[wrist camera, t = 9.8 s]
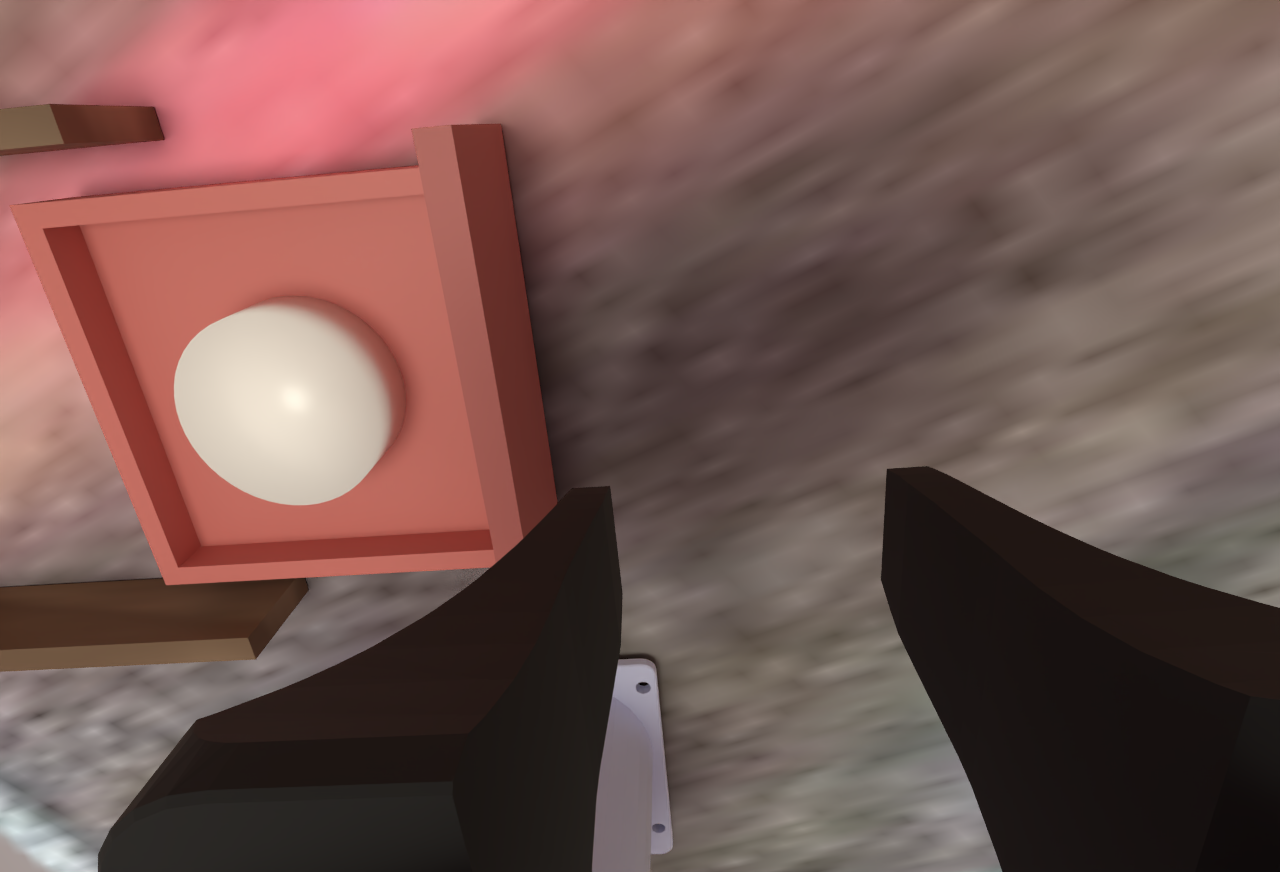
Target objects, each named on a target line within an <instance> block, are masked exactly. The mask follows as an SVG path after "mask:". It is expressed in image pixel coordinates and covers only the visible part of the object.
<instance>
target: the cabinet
mask: <svg viewBox="0 0 1280 872" xmlns="http://www.w3.org/2000/svg"><path fill="white" fill-rule="evenodd" d="M157 140H164V138H163V135H162V131H161V128H160V125H159V122H158V119H157V116H156V113H155V110H154V107H138V106H100V105H63V104H46V105H36V106H26V107H17V108H7V109H0V156H3V155H13V154H24V153H34V152H44V151H54V150H65V149H75V148H85V147H95V146H106V145H116V144H126V143H137V142H147V141H157ZM307 591H308V587H307V584H306V581H305V578H288V579H270V580H252V581H234V582H216V583H198V584H180V585H166V584H165V582H164V579H163V578H160V579H142V580H125V581H107V582H89V583H71V584H53V585H36V586H18V587H0V672H2V671H23V670H43V669H64V668H85V667H106V666H127V665H147V664H168V663H189V662H210V661H230V660H251V659H256V658H257V657H258V656H259V654H260V653H261V652H262V650H263V649H264V648H265V647H266V645H267V644H268V643H269V641H270V640H271V639H272V637H273V636H274V635H275V633H276V632H277V631H278V629H279V628H280V627H281V626H282V624H283V623H284V622H285V620H286V619H287V618H288V616H289V615H290V614H291V612H292V611H293V610H294V609H295V607H296V606H297V605H298V603H299V602H300V601H301V599H302V598H303V597H304V595H305V594H306V593H307Z"/></svg>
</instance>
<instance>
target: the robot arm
mask: <svg viewBox="0 0 1280 872" xmlns="http://www.w3.org/2000/svg"><path fill="white" fill-rule="evenodd" d="M881 581H882V584H883V588H884V591H885V594H886V597H887V601H888V604H889V607H890V610H891V613H892V616H893V619H894V622H895V625H896V628H897V631H898V634H899V636H900V638H901V640H902V642H903V644H904V646H905V649H906V651H907V653H908V655H909V657H910V659H911V661H912V663H913V665H914V667H915V669H916V671H917V673H918V675H919V677H920V679H921V681H922V684H923V686H924V688H925V690H926V692H927V694H928V696H929V698H930V700H931V702H932V704H933V706H934V708H935V710H936V712H937V714H938V716H939V718H940V720H941V722H942V724H943V726H944V728H945V730H946V732H947V734H948V736H949V738H950V740H951V742H952V744H953V746H954V748H955V750H956V752H957V754H958V756H959V759H960V761H961V763H962V766H963V768H964V770H965V772H966V775H967V777H968V779H969V781H970V784H971V786H972V789H973V791H974V794H975V797H976V800H977V802H978V805H979V808H980V811H981V813H982V816H983V819H984V821H985V824H986V827H987V830H988V832H989V835H990V838H991V840H992V843H993V846H994V849H995V851H996V854H997V857H998V860H999V863H1000V866H1001V869H1002V872H1280V608H1278V607H1274V606H1270V605H1266V604H1263V603H1259V602H1256V601H1252V600H1249V599H1245V598H1242V597H1238V596H1235V595H1231V594H1228V593H1224V592H1221V591H1218V590H1214V589H1211V588H1207V587H1204V586H1201V585H1198V584H1195V583H1191V582H1188V581H1185V580H1182V579H1179V578H1176V577H1173V576H1170V575H1167V574H1165V573H1162V572H1159V571H1156V570H1154V569H1151V568H1148V567H1145V566H1143V565H1140V564H1137V563H1134V562H1132V561H1129V560H1126V559H1123V558H1121V557H1118V556H1116V555H1113V554H1111V553H1108V552H1106V551H1103V550H1101V549H1098V548H1096V547H1094V546H1092V545H1089V544H1087V543H1085V542H1083V541H1080V540H1078V539H1076V538H1074V537H1071V536H1069V535H1067V534H1065V533H1062V532H1060V531H1058V530H1056V529H1053V528H1051V527H1049V526H1047V525H1045V524H1043V523H1041V522H1039V521H1037V520H1035V519H1033V518H1031V517H1029V516H1027V515H1025V514H1023V513H1021V512H1019V511H1017V510H1015V509H1013V508H1011V507H1009V506H1007V505H1005V504H1003V503H1001V502H999V501H997V500H995V499H993V498H991V497H989V496H988V495H986V494H984V493H982V492H980V491H978V490H976V489H974V488H972V487H970V486H968V485H966V484H965V483H963V482H961V481H959V480H957V479H955V478H953V477H951V476H949V475H947V474H944V473H942V472H940V471H938V470H935V469H933V468H930V467H927V466H926V467H910V468H893V469H887V477H886V496H885V515H884V534H883V552H882V571H881ZM621 623H622V585H621V577H620V568H619V559H618V551H617V542H616V533H615V525H614V516H613V508H612V499H611V490H610V486H604V487H588V488H572V489H571V490H570V491H569V492H568V493H567V494H566V495H565V496H564V497H563V498H562V499H561V500H560V501H559V502H558V503H557V505H556V506H555V507H554V508H553V509H552V510H551V511H550V512H549V513H548V514H547V515H546V516H545V517H544V518H543V519H542V520H541V521H540V522H539V523H538V524H537V525H536V526H535V527H534V528H533V529H532V530H531V531H530V532H529V533H528V534H527V535H526V536H525V537H524V538H523V539H522V540H521V541H520V542H519V543H518V544H517V545H516V546H515V547H514V548H512V549H511V550H510V551H509V552H508V553H507V554H506V555H504V556H503V557H502V558H501V559H500V560H499V561H498V562H496V563H495V564H494V565H493V566H492V567H491V568H490V569H488V570H487V571H486V572H485V573H484V574H483V575H482V576H480V577H479V578H478V579H477V580H475V581H474V582H473V583H472V584H470V585H469V586H468V587H466V588H465V589H464V590H462V591H461V592H460V593H458V594H457V595H455V596H454V597H453V598H451V599H450V600H448V601H447V602H445V603H444V604H442V605H441V606H440V607H438V608H437V609H435V610H434V611H432V612H431V613H429V614H428V615H426V616H425V617H423V618H421V619H419V620H418V621H416V622H414V623H413V624H411V625H409V626H407V627H406V628H404V629H402V630H401V631H399V632H397V633H395V634H394V635H392V636H390V637H388V638H387V639H385V640H383V641H382V642H380V643H378V644H376V645H375V646H373V647H371V648H369V649H367V650H365V651H363V652H361V653H359V654H357V655H355V656H353V657H351V658H349V659H347V660H345V661H343V662H341V663H339V664H337V665H335V666H332V667H330V668H328V669H326V670H324V671H321V672H319V673H317V674H315V675H313V676H310V677H308V678H306V679H304V680H301V681H299V682H297V683H294V684H292V685H289V686H287V687H285V688H282V689H280V690H277V691H274V692H272V693H269V694H266V695H264V696H261V697H258V698H256V699H253V700H250V701H248V702H245V703H242V704H240V705H237V706H234V707H232V708H229V709H226V710H224V711H221V712H218V713H216V714H213V715H210V716H207V717H204V718H201V719H198V720H196V721H195V723H194V724H193V725H192V726H191V727H190V729H189V730H188V731H187V732H186V734H185V735H184V736H183V737H182V739H181V740H180V741H179V743H178V744H177V745H176V746H175V748H174V749H173V750H172V751H171V753H170V754H169V755H168V757H167V758H166V759H165V760H164V762H163V763H162V764H161V765H160V767H159V768H158V769H157V771H156V772H155V773H154V774H153V776H152V777H151V778H150V779H149V781H148V782H147V783H146V785H145V786H144V787H143V788H142V790H141V791H140V792H139V793H138V795H137V796H136V797H135V799H134V800H133V801H132V802H131V804H130V805H129V806H128V807H127V809H126V810H125V811H124V813H123V814H122V815H121V816H120V818H119V819H118V820H117V822H116V823H115V824H114V825H113V827H112V828H111V829H110V831H109V833H108V835H107V837H106V839H105V841H104V843H103V845H102V847H101V849H100V852H99V854H98V872H650V870H651V854H664V853H667V852H669V851H670V850H671V849H672V848H673V832H672V822H671V812H670V802H669V792H668V781H667V771H666V761H665V751H664V741H663V731H662V721H661V710H660V700H659V690H658V680H657V670H656V666H655V664H654V663H653V662H652V661H650V660H648V659H642V658H640V659H619V653H620V646H621ZM640 682H646V683H648V685H645V686H642V685H639V684H638V683H640ZM657 823H659V824H657Z"/></svg>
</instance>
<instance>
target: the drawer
mask: <svg viewBox="0 0 1280 872" xmlns="http://www.w3.org/2000/svg"><path fill="white" fill-rule="evenodd" d="M411 130H412V135H413V140H414V145H415V150H416V155H417V160H418V165H417V166H406V167H395V168H384V169H373V170H363V171H352V172H341V173H330V174H320V175H309V176H298V177H287V178H276V179H266V180H255V181H244V182H233V183H223V184H212V185H201V186H190V187H179V188H169V189H158V190H147V191H136V192H126V193H115V194H104V195H93V196H82V197H72V198H64V199H56V200H48V201H40V202H33V203H25V204H17V205H10V208H11V211H12V213H13V215H14V218H15V220H16V223H17V225H18V228H19V230H20V232H21V235H22V237H23V240H24V242H25V244H26V247H27V249H28V252H29V254H30V257H31V259H32V261H33V264H34V266H35V269H36V271H37V274H38V276H39V278H40V281H41V283H42V286H43V288H44V291H45V293H46V295H47V298H48V300H49V303H50V305H51V308H52V310H53V312H54V315H55V317H56V320H57V322H58V325H59V327H60V329H61V332H62V334H63V337H64V339H65V342H66V344H67V346H68V349H69V351H70V354H71V356H72V358H73V361H74V363H75V366H76V368H77V371H78V373H79V375H80V378H81V380H82V383H83V385H84V388H85V390H86V392H87V395H88V397H89V400H90V402H91V405H92V407H93V409H94V412H95V414H96V417H97V419H98V422H99V424H100V426H101V429H102V431H103V434H104V436H105V439H106V441H107V443H108V446H109V448H110V451H111V453H112V455H113V458H114V460H115V463H116V465H117V468H118V470H119V472H120V475H121V477H122V480H123V482H124V485H125V487H126V489H127V492H128V494H129V497H130V499H131V502H132V504H133V506H134V509H135V511H136V514H137V516H138V519H139V521H140V523H141V526H142V528H143V531H144V533H145V536H146V538H147V540H148V543H149V545H150V548H151V550H152V553H153V555H154V557H155V560H156V562H157V565H158V567H159V569H160V572H161V574H162V577H163V579H164V582H165V584H166V585H180V584H198V583H216V582H234V581H252V580H270V579H288V578H306V577H324V576H342V575H360V574H378V573H396V572H414V571H432V570H450V569H468V568H486V567H492V566H493V565H494V564H495V563H496V562H498V561H499V560H500V559H501V558H502V557H503V556H504V555H506V554H507V553H508V552H509V551H510V550H511V549H512V548H514V547H515V546H516V545H517V544H518V543H519V542H520V541H521V540H522V539H523V538H524V537H525V536H526V535H527V534H528V533H529V532H530V531H531V530H532V529H533V528H534V527H535V526H536V525H537V524H538V523H539V522H540V521H541V520H542V519H543V518H544V517H545V516H546V515H547V514H548V513H549V512H550V511H551V510H552V509H553V508H554V507H555V506H556V505H557V503H558V502H557V496H556V489H555V482H554V476H553V469H552V462H551V456H550V449H549V442H548V436H547V429H546V422H545V416H544V409H543V402H542V395H541V389H540V382H539V375H538V369H537V362H536V355H535V349H534V342H533V335H532V329H531V322H530V315H529V309H528V302H527V295H526V289H525V282H524V275H523V268H522V262H521V255H520V248H519V242H518V235H517V228H516V222H515V215H514V208H513V202H512V195H511V188H510V182H509V175H508V168H507V161H506V155H505V148H504V141H503V135H502V128H501V124H472V125H445V126H435V127H424V128H414V129H411ZM281 296H307V297H313V298H317V299H322V300H325V301H328V302H331V303H333V304H336V305H338V306H340V307H342V308H344V309H346V310H348V311H350V312H351V313H353V314H354V315H356V316H357V317H359V318H360V319H362V320H363V321H364V322H365V323H367V324H368V325H369V326H370V327H371V328H372V329H373V330H374V331H375V332H376V333H377V334H378V335H379V336H380V337H381V338H382V340H383V341H384V342H385V344H386V345H387V346H388V348H389V349H390V351H391V353H392V354H393V356H394V358H395V360H396V362H397V364H398V366H399V369H400V371H401V375H402V378H403V381H404V387H405V393H406V409H405V417H404V420H403V424H402V427H401V429H400V432H399V434H398V436H397V438H396V439H395V441H394V442H393V444H392V445H391V447H390V448H389V449H388V450H387V451H386V452H385V454H384V455H383V456H382V457H381V458H380V460H379V461H378V462H377V463H376V464H375V465H374V467H373V468H372V469H371V470H370V471H369V473H368V474H367V475H366V476H365V477H364V478H363V479H362V481H361V482H360V483H359V484H358V485H356V486H355V487H354V488H353V489H352V490H350V491H348V492H347V493H345V494H343V495H342V496H340V497H337V498H335V499H333V500H330V501H326V502H323V503H319V504H312V505H287V504H279V503H275V502H270V501H266V500H263V499H260V498H257V497H255V496H253V495H250V494H248V493H246V492H244V491H242V490H240V489H238V488H237V487H235V486H233V485H231V484H230V483H229V482H227V481H226V480H224V479H223V478H222V477H220V476H219V475H218V474H217V473H216V472H215V471H213V470H212V469H211V468H210V467H209V466H208V465H207V464H206V463H205V462H204V461H203V459H202V458H201V457H200V456H199V455H198V453H197V452H196V451H195V449H194V448H193V447H192V445H191V443H190V442H189V440H188V438H187V437H186V435H185V433H184V430H183V428H182V426H181V424H180V421H179V418H178V414H177V411H176V406H175V400H174V380H175V372H176V369H177V365H178V362H179V360H180V358H181V355H182V353H183V351H184V350H185V348H186V347H187V345H188V344H189V343H190V341H191V340H192V339H193V338H194V337H195V336H196V335H197V334H198V333H199V332H200V331H202V330H203V329H205V328H206V327H207V326H209V325H211V324H213V323H215V322H217V321H219V320H221V319H223V318H225V317H227V316H230V315H232V314H234V313H236V312H239V311H241V310H243V309H245V308H248V307H250V306H252V305H254V304H257V303H259V302H261V301H264V300H267V299H270V298H274V297H281Z"/></svg>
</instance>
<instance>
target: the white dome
mask: <svg viewBox="0 0 1280 872" xmlns="http://www.w3.org/2000/svg"><path fill="white" fill-rule="evenodd" d="M174 400H175V406H176V411H177V414H178V418H179V421H180V424H181V426H182V428H183V430H184V433H185V435H186V437H187V438H188V440H189V442H190V443H191V445H192V447H193V448H194V449H195V451H196V452H197V453H198V455H199V456H200V457H201V458H202V459H203V461H204V462H205V463H206V464H207V465H208V466H209V467H210V468H211V469H212V470H213V471H215V472H216V473H217V474H218V475H219V476H220V477H222V478H223V479H224V480H226V481H227V482H229V483H230V484H231V485H233V486H235V487H237V488H238V489H240V490H242V491H244V492H246V493H248V494H250V495H253V496H255V497H257V498H260V499H263V500H266V501H270V502H275V503H279V504H287V505H312V504H319V503H323V502H326V501H330V500H333V499H335V498H337V497H340V496H342V495H343V494H345V493H347V492H348V491H350V490H352V489H353V488H354V487H355V486H356V485H358V484H359V483H360V482H361V481H362V479H363V478H364V477H365V476H366V475H367V474H368V473H369V471H370V470H371V469H372V468H373V467H374V465H375V464H376V463H377V462H378V461H379V460H380V458H381V457H382V456H383V455H384V454H385V452H386V451H387V450H388V449H389V448H390V447H391V445H392V444H393V442H394V441H395V439H396V438H397V436H398V434H399V432H400V429H401V427H402V424H403V420H404V417H405V409H406V393H405V387H404V381H403V378H402V375H401V371H400V369H399V366H398V364H397V362H396V360H395V358H394V356H393V354H392V353H391V351H390V349H389V348H388V346H387V345H386V344H385V342H384V341H383V340H382V338H381V337H380V336H379V335H378V334H377V333H376V332H375V331H374V330H373V329H372V328H371V327H370V326H369V325H368V324H367V323H365V322H364V321H363V320H362V319H360V318H359V317H357V316H356V315H354V314H353V313H351V312H350V311H348V310H346V309H344V308H342V307H340V306H338V305H336V304H333V303H331V302H328V301H325V300H322V299H317V298H313V297H307V296H281V297H274V298H270V299H267V300H264V301H261V302H259V303H257V304H254V305H252V306H250V307H248V308H245V309H243V310H241V311H239V312H236V313H234V314H232V315H230V316H227V317H225V318H223V319H221V320H219V321H217V322H215V323H213V324H211V325H209V326H207V327H206V328H205V329H203V330H202V331H200V332H199V333H198V334H197V335H196V336H195V337H194V338H193V339H192V340H191V341H190V343H189V344H188V345H187V347H186V348H185V350H184V351H183V353H182V355H181V358H180V360H179V362H178V365H177V369H176V372H175V380H174Z"/></svg>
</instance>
